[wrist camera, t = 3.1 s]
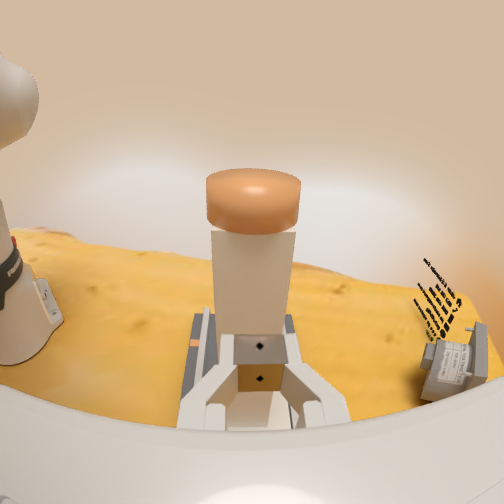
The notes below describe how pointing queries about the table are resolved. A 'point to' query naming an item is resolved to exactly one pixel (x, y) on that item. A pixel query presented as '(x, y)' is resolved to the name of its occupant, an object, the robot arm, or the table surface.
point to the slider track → (213, 353)
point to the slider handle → (252, 272)
